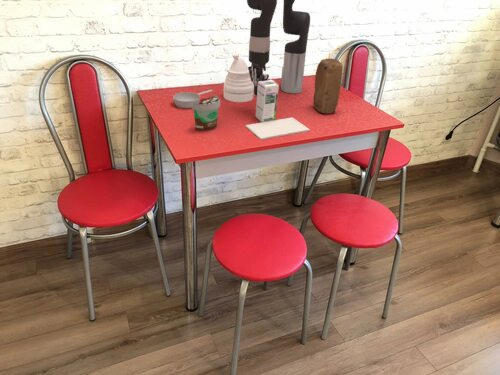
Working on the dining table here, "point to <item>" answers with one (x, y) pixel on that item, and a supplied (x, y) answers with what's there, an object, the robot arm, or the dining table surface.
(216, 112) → the food container
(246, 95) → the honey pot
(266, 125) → the mat
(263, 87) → the syrup box
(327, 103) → the block
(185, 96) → the saucepan
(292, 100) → the dining table surface
